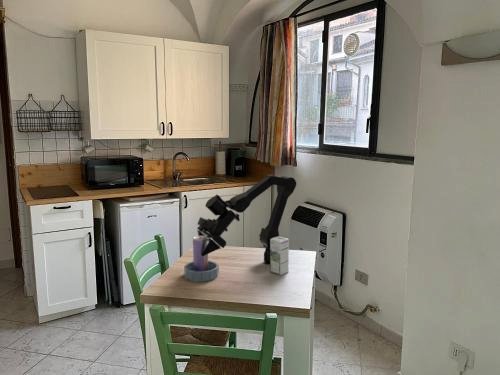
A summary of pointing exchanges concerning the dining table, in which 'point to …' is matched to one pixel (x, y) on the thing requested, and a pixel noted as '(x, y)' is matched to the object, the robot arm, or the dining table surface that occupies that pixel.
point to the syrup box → (279, 255)
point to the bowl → (201, 276)
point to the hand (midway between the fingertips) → (197, 252)
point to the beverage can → (198, 247)
